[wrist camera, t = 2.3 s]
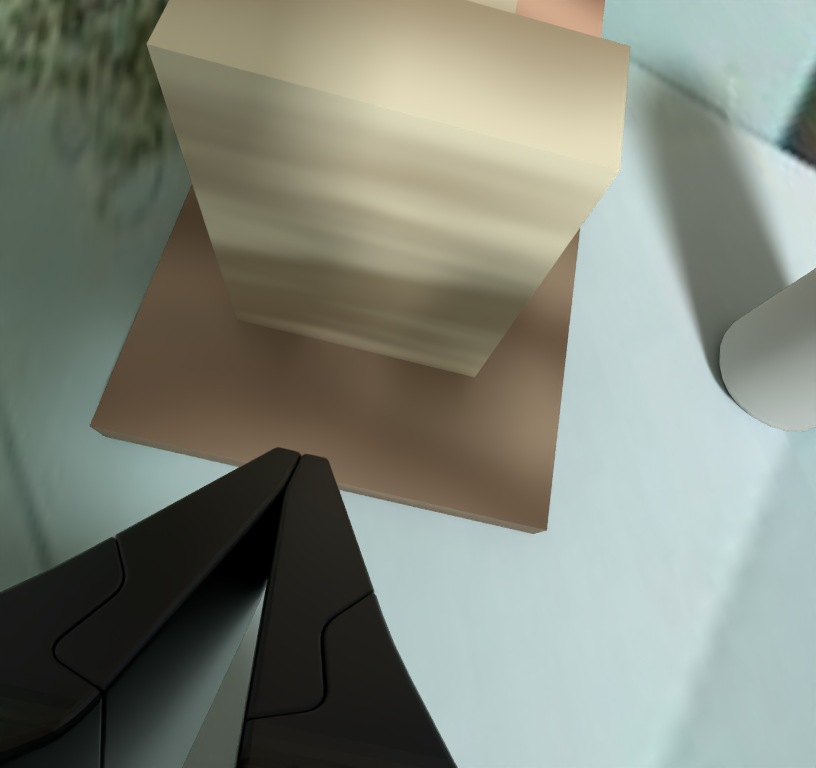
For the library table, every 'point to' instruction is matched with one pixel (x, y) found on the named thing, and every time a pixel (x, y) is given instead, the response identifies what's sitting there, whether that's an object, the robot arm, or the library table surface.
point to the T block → (389, 161)
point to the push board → (350, 384)
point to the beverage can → (775, 358)
